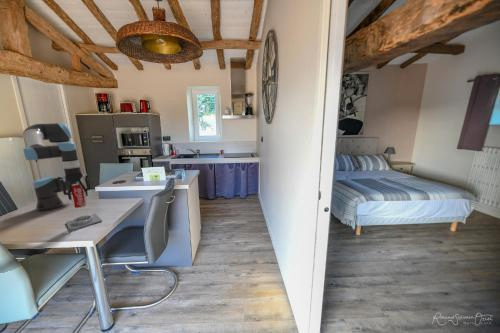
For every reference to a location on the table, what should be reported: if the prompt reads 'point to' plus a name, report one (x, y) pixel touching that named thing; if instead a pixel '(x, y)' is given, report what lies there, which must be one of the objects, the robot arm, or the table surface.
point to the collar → (78, 222)
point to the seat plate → (75, 227)
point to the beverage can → (78, 196)
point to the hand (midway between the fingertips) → (79, 202)
